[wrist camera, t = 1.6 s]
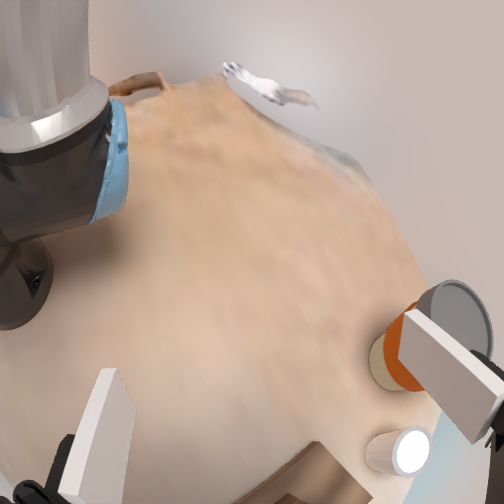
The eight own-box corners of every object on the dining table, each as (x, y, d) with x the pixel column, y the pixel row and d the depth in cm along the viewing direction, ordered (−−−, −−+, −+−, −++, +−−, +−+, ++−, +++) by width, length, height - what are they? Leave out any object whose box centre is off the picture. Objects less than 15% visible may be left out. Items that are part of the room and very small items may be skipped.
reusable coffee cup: (374, 309, 44) (436, 259, 31) (429, 346, 42) (496, 308, 30) (345, 380, 37) (418, 349, 24) (409, 415, 35) (487, 394, 23)
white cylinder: (373, 484, 29) (406, 488, 23) (352, 449, 32) (383, 449, 26) (407, 454, 32) (440, 452, 26) (388, 420, 34) (420, 414, 29)
